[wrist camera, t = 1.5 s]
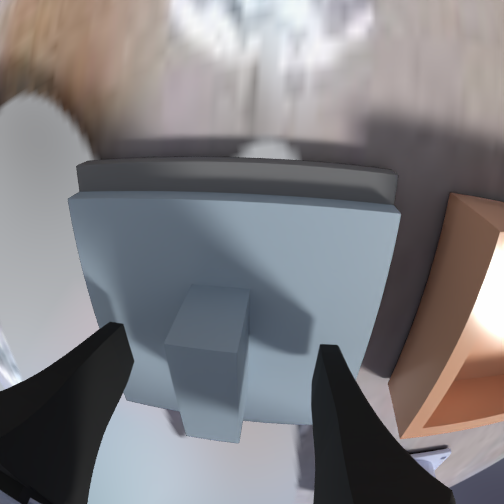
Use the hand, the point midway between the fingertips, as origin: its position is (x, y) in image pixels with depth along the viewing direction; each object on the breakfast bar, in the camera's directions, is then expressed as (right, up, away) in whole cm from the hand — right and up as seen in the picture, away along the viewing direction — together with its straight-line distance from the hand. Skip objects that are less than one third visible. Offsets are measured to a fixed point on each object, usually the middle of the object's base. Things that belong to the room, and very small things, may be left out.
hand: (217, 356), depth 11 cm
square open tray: (+13, +1, +1) cm, 13 cm away
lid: (0, +1, +1) cm, 2 cm away
